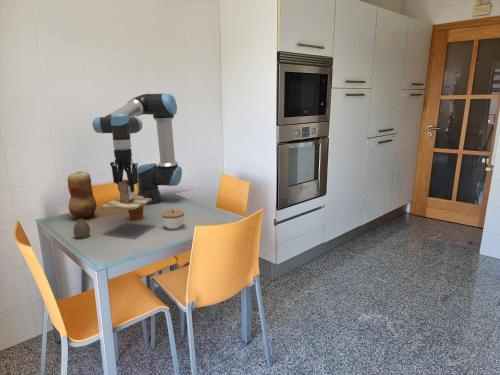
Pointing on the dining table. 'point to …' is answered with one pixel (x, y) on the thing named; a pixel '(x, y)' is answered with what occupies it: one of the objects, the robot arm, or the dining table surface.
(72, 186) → the butternut squash
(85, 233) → the vase
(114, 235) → the rubber mat
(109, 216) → the dining table surface
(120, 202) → the oak lid
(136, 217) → the disposable coffee cup
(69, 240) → the dining table surface
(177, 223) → the lidded jar
